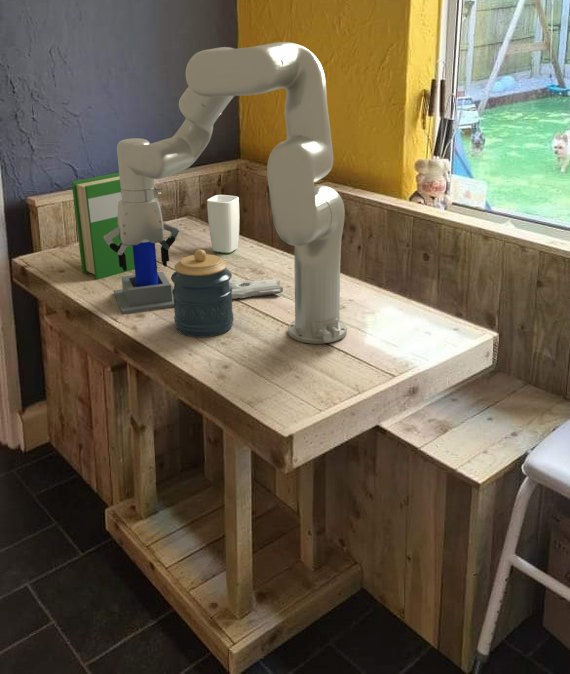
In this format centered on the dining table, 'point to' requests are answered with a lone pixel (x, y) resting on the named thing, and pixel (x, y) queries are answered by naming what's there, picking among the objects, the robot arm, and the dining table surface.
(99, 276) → the hardback book
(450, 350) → the dining table surface
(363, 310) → the dining table surface
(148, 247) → the beverage can
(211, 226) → the cup
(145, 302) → the holder
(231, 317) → the canister
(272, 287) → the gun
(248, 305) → the dining table surface
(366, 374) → the dining table surface
